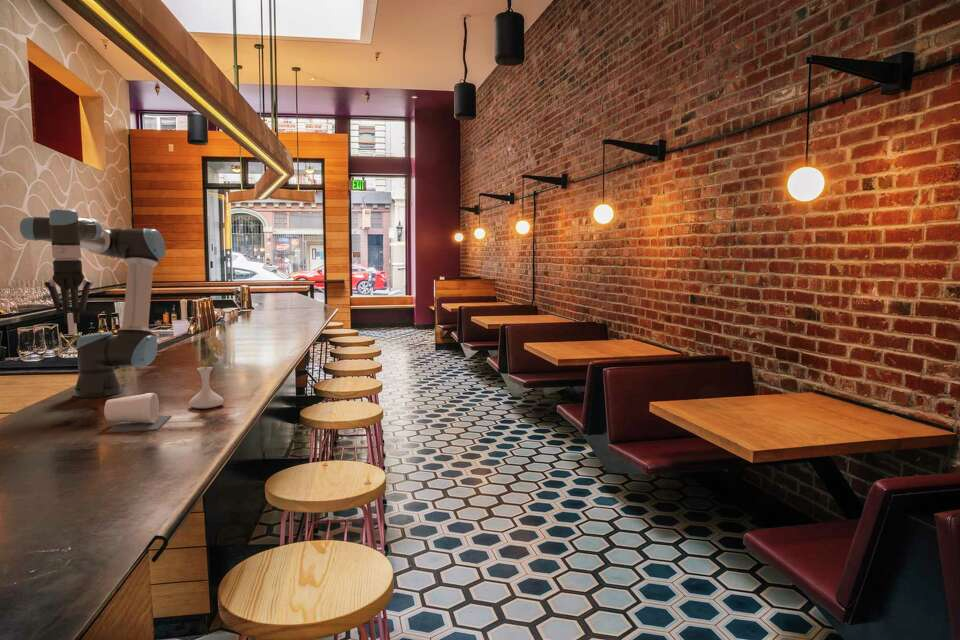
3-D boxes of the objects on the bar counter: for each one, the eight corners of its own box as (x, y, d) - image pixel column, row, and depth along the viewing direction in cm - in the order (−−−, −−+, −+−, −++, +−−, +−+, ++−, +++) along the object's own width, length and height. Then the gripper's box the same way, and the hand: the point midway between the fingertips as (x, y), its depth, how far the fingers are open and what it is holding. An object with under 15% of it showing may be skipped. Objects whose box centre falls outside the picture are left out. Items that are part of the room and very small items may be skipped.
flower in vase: (201, 412, 205) (198, 339, 203) (181, 408, 211) (178, 336, 209) (235, 404, 216) (232, 335, 214) (215, 400, 222) (212, 332, 220)
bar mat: (124, 418, 197) (124, 417, 197) (171, 416, 200) (171, 415, 200) (106, 432, 181) (106, 431, 181) (157, 430, 184) (157, 428, 184)
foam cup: (110, 430, 190) (155, 428, 192) (99, 418, 182) (146, 416, 184) (116, 402, 195) (160, 400, 197) (106, 389, 187) (152, 387, 189)
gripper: (38, 259, 186) (44, 336, 189) (86, 259, 190) (92, 334, 193) (48, 259, 193) (54, 332, 196) (94, 259, 197) (99, 331, 200)
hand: (73, 333), depth 195 cm, fingers closed
